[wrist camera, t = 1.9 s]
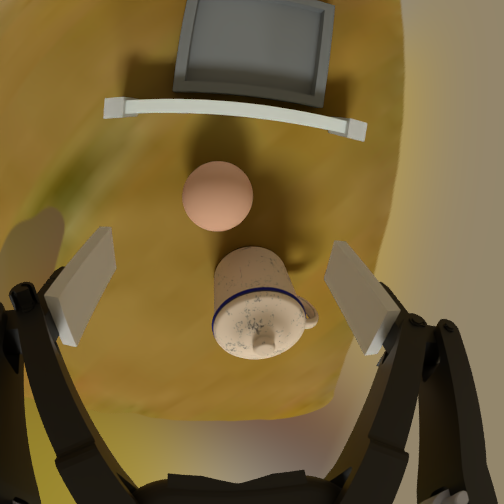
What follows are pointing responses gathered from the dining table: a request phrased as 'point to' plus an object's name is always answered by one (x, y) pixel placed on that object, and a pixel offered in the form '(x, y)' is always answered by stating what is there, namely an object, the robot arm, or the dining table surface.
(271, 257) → the teacup with lid
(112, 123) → the dining table surface
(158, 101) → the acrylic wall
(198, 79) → the tray
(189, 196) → the ball
